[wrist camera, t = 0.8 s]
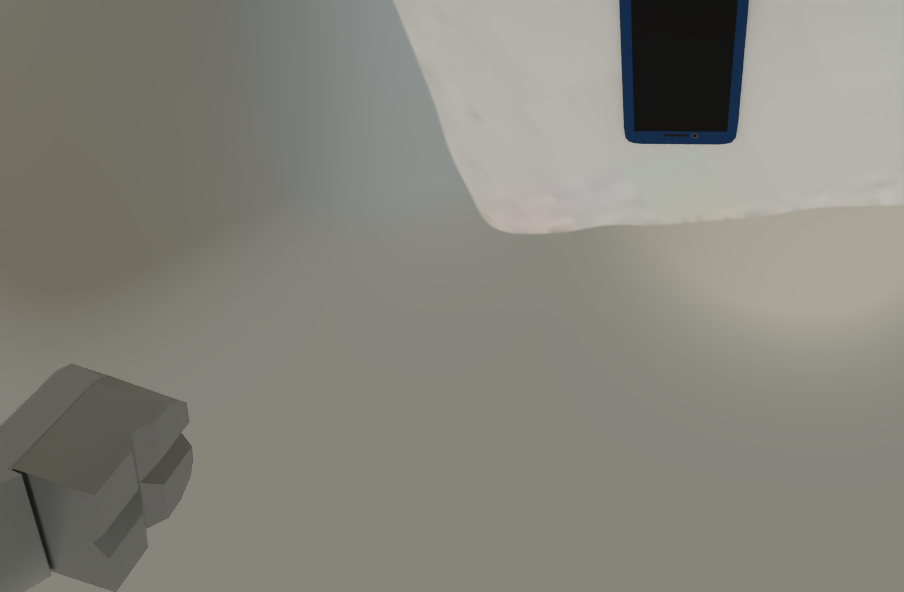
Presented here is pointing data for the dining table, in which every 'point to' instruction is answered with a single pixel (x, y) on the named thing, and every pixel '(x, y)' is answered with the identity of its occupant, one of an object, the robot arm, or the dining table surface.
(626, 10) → the cell phone
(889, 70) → the dining table surface
